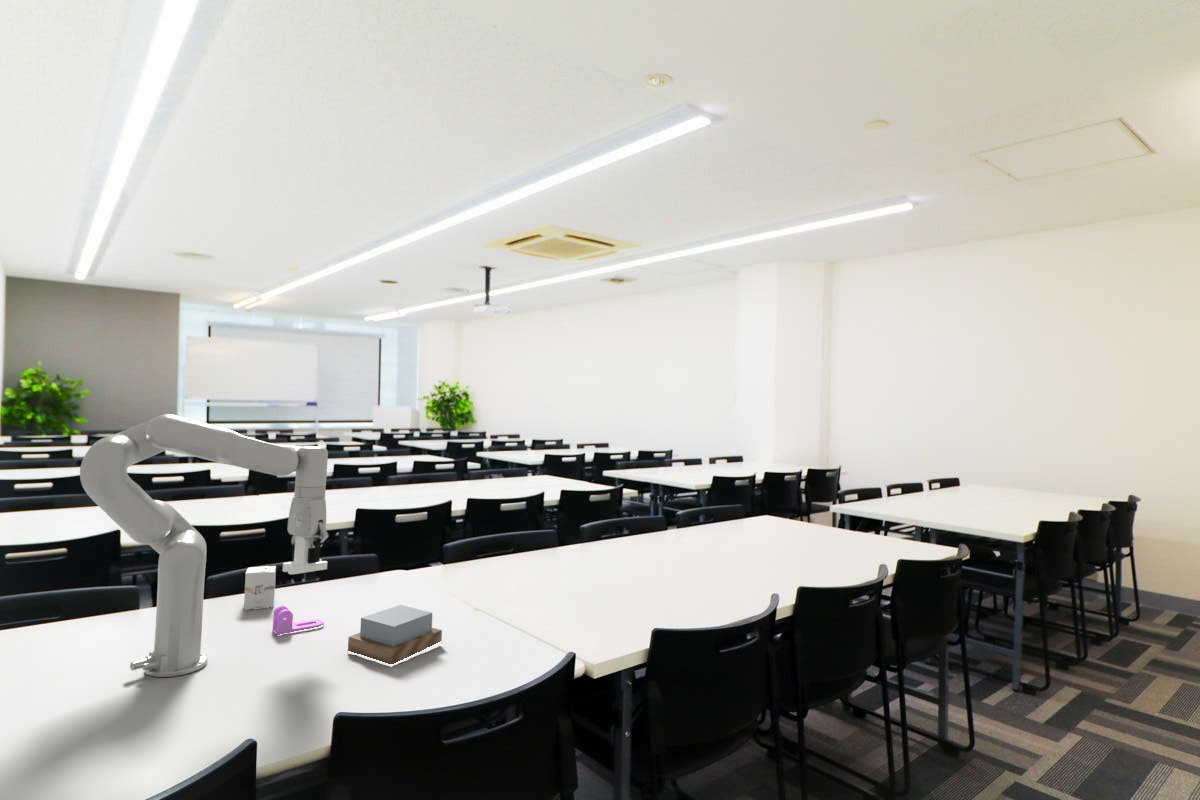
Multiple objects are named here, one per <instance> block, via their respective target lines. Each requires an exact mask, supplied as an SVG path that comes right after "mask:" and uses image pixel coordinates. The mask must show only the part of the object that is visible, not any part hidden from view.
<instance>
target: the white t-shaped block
mask: <svg viewBox="0 0 1200 800" xmlns="http://www.w3.org/2000/svg"><path fill="white" fill-rule="evenodd" d="M315 535H316V534H315ZM316 540H317V538H314V542H315V541H316ZM309 548H311V546H310V541H309V538H306V537H301V536H296V538H295V551H294V560H293V561H288V562H283V563H282V570H281V571H282V572H284V573H287V574H289V575H298V574H304V573H312V572H315V571H316V572H317V571H324V570H327V569H328V561H327V560H323V559H321V558H320V561H319V562H315V563H308V550H309Z"/></svg>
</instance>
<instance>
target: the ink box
mask: <svg viewBox="0 0 1200 800" xmlns="http://www.w3.org/2000/svg"><path fill="white" fill-rule="evenodd" d="M276 571H277V566H276V565H271V566H270V565H264V566H262V565H261V566H250V567H247V569H246V571H245V575H244V576H245V578H244V580H245V581H244V582H245V583H244V597H243V600H244V601H243V602H244V603H243V611H248V610H249V609H254V610H262V609H261V608H267V609H269V608H268V607H273V608H274V605H275V593H276V573H277V572H276ZM249 611H250V610H249Z"/></svg>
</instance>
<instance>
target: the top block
mask: <svg viewBox="0 0 1200 800" xmlns="http://www.w3.org/2000/svg"><path fill="white" fill-rule="evenodd" d="M432 628H433V612H431V611H427V610H423V609H418V608H415V607H410V606H407V605H402V604H399V605H395V606H392V607H390V608H386V609H384V610H383V609H382V610H381V611H378V612H374V613H372V614H368V615H365V616H363V617H361V618H360V632H359V633H360V637H363V638H366V639H370V640H373V641H376V642H380V643H383V644H387V645H390V646H395V645H398V644H400V643H403V642H405V641H408V640H410V639H413V638H415V637H418V636H420V635H423V634H425V633H428V632H430V631H432Z"/></svg>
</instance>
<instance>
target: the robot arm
mask: <svg viewBox="0 0 1200 800" xmlns="http://www.w3.org/2000/svg"><path fill="white" fill-rule="evenodd" d="M165 451H166V452H172V453H176V454H180V455H186V456H188V457H189V456H190V457H195V458H200V459H203V460H207V461H211V462H214V463H220V464H223V465H228V466H234V467H237V468H242V469H246V470H250V471H253V472H258V473H263V474H268V475H272V476H275V477H277V476H278V477H284V476H288V475H290V474H293V472H295V483H294V496H293V497H292V500H291V503H290V507H289V513H288V519H287V529H286V530H287V533H288V534H289V538H290V539H291V540H290V542H291V546H292V548H291V560H293V561H294V551H295V538H296V536H301V537H306V538H309V541H310V546H311V548H309V550H308V563H315V562H319V561H320V559H321V548H322V547H323V544H324V543H325V542H326V540H327V539H328V538H329V533H328V532H327V504H326V503H327V501H326V488H327V487H326V486H327V473H328V457H329V452H328V449H327V448H326V447H324V446H317V445H316V446H315V445H307V446H296V445H290V444H289V445H288V444H281V443H279V444H274V443H271V442H267V441H264V440H259V439H255V438H252V437H250V436H249V437H248V436H245V435H243V434H240V433H238V432H236V431H234V430H231V429H228V428H225V427H222V426H217V425H212V424H208V423H205V422H200V421H198V420H197V421H196V420H194V419H188V418H184V417H181V416H178V415H176V414H172V413H164V414H161V415H158V416H155V417H154V418H152V419H149V420H147V421H145V422H143V423H140V424H138V425H135V426H132V427H130V428H128V429H125V430H122V431H120V432H116V433H114V434H111V435H109V436H105V437H103V438H100V439H99V440H97V441H95V442H94V443H93V444H92V445H91V446H90V447H89V448H88V450H87V452H86V453H85V455H84V457H83V459H82V460H81V464H80V468H79V478H80V483H81V486H82V488H83V490H84V492H85V493H86V494H87V496H88V497H89V498H90V499H91V500H92V501H93V502H94V504H96V505H97V507H99V508H100V509H101V510H102V511H103V512H104V513H106V515H107V516H108V517H109V518H110V519H111V520H112V521H113V522H114V523H115V524H116V525H117V526H119V527H120V528H121V529H122V530H123V531H124V533H126V534H127V535H128V537H129V538H131V539H132V541H134V542H136V543H139V544H142V545H148V546H150V547H151V548H152V549H153V550H154V551H155V552H157V554H159V556H158V564H157V590H156V614H155V629H154V630H155V633H154V647H153V650H152V651H149V653H148V656H145V658H144V659H139V660H134V661H131V662H130V664H129V668H130V670H131V671H135V670H136V671H137V670H140V669H142V671H144V672H145V674H146V675H148V676H151V677H157V678H170V677H178V676H183V675H188V674H190V673H193V672H196V671H199V670H200V669H203V668H204V667H205V666H206V665H207V664H208V656H207V655H205V654H203V653H201V648H202V634H203V633H202V630H203V614H204V609H203V608H204V597H205V595H204V593H205V580H206V579H205V577H206V563H207V552H208V551H207V542H206V540H205V538H204V537H203V535H202V534H201V533H200V532H199V531H198V530H197V529H196V528H195V527H194V526H193V525H192V524H191V523H190V522H188V521H187V519H185V517H183V515H182V514H181V513H179V512H178V511H177V510H176V509H175V508H174V507H173V506H172V505H170V504H169V503H167V502H165V501H163V500H158V499H153V498H152V497H151V496H150V495H149V494H148V493H146V491H145V490H144V489H143V488H142V487H141V486H140V485H139V484H138V483H137V482H135V481H134V480H133V479H132V478H131V477H130V476H129V474H128V468H129V467H130V466H132V465H135V464H137V463H139V462H142V461H144V460H147V459H149V458H151V457H154V456H156V455H159V454H160V453H162V452H165ZM315 534H316V535H315ZM314 538H317V540H316V541H315V542H314Z"/></svg>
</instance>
